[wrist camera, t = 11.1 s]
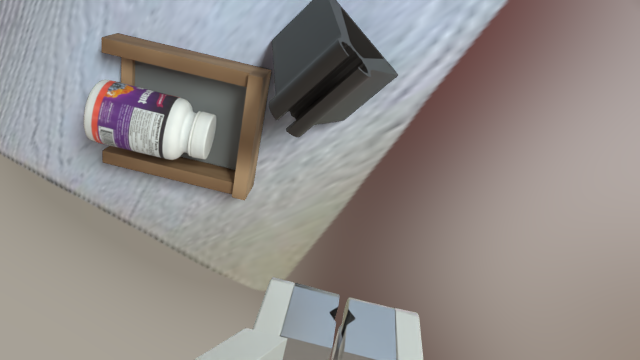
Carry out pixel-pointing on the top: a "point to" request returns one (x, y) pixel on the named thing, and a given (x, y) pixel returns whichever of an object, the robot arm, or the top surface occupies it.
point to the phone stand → (324, 67)
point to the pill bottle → (147, 121)
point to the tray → (208, 67)
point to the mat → (202, 105)
